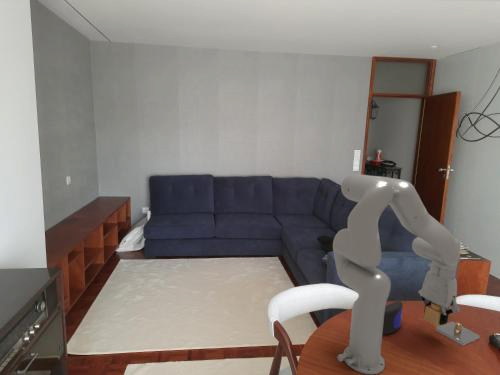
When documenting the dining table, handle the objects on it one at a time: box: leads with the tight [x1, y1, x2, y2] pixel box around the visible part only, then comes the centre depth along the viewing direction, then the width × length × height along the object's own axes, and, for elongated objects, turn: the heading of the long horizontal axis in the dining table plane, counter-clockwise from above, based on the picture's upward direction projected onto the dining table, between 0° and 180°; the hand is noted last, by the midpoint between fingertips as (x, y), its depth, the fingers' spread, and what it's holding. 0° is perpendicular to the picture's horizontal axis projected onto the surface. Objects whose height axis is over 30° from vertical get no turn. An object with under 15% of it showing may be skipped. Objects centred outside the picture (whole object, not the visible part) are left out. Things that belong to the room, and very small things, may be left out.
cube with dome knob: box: [423, 302, 442, 328], centre depth 115 cm, size 5×5×7 cm
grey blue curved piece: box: [382, 300, 404, 336], centre depth 121 cm, size 16×5×9 cm, turn 123°
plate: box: [435, 320, 481, 347], centre depth 120 cm, size 10×10×4 cm
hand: (434, 319), depth 116 cm, fingers closed on cube with dome knob, 5 cm apart
